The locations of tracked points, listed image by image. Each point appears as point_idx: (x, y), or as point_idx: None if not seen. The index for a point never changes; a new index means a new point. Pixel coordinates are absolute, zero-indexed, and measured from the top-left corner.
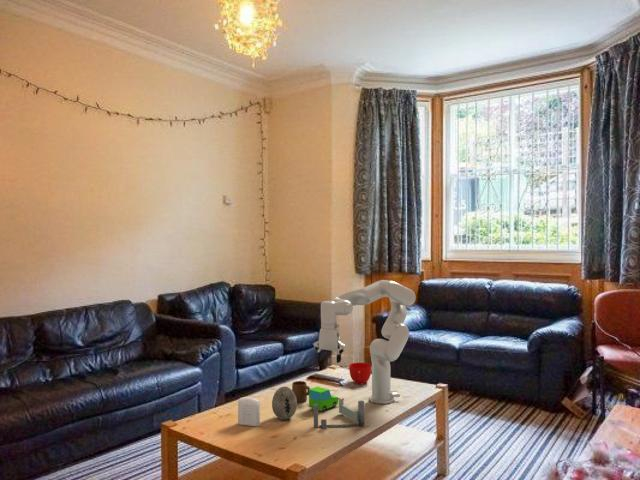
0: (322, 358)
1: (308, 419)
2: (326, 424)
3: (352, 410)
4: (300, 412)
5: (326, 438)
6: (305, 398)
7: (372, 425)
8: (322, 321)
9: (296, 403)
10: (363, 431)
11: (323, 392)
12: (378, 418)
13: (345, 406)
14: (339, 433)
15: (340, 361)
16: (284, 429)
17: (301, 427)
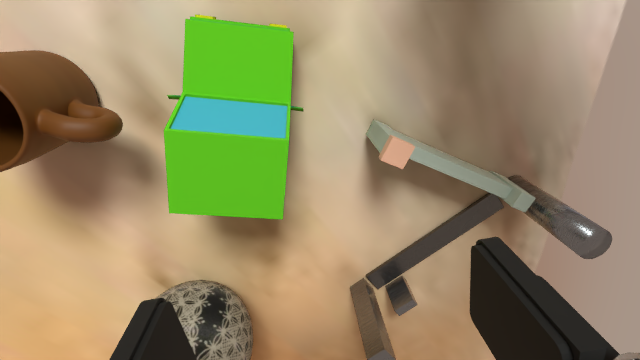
0: (169, 328)
1: (288, 253)
2: (411, 292)
3: (482, 183)
4: (201, 216)
5: (443, 327)
6: (87, 95)
7: (553, 157)
8: None
9: (243, 331)
10: (536, 223)
11: (283, 193)
12: (557, 69)
13: (424, 156)
14: (464, 281)
15: (493, 237)
16: (282, 353)
17: (319, 315)
